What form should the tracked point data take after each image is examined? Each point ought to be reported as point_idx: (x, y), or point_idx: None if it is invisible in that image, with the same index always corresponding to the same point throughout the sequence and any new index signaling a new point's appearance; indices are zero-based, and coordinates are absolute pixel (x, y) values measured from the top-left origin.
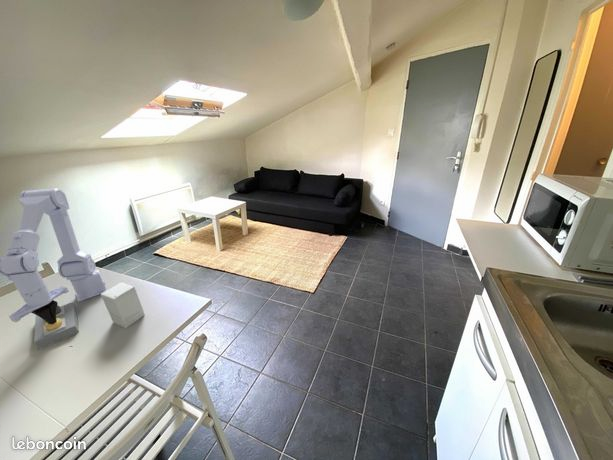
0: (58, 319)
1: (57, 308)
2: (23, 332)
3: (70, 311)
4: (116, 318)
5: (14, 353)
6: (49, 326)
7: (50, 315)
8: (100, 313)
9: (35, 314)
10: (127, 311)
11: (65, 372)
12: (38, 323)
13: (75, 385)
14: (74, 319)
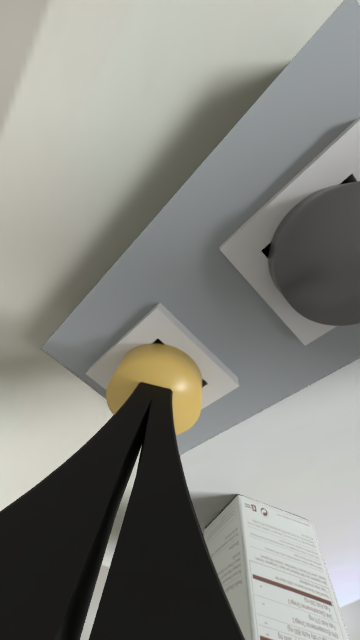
0: (185, 420)
1: (355, 313)
2: (176, 33)
3: (328, 358)
4: (217, 562)
5: (17, 211)
6: (114, 412)
7: (111, 525)
8: (313, 433)
9: (28, 495)
10: None
11: (29, 468)
12: (197, 206)
13: (13, 500)
14: (230, 426)
